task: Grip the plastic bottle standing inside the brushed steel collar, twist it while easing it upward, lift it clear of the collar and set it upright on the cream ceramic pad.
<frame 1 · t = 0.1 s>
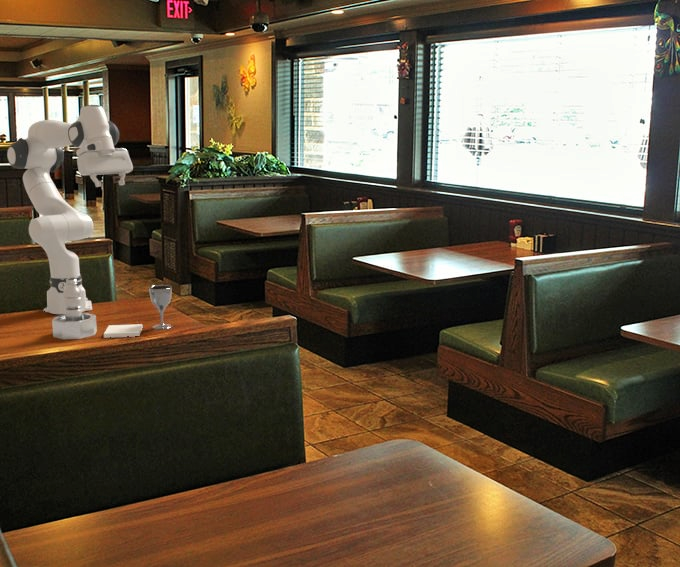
hand: (110, 185, 283), 52 cm above the table, tool tilted 20°, fingers open, 8 cm apart
steel collar: (75, 334, 282), on the table
plastic bottle: (75, 334, 282), resting in steel collar
ceramic pad: (123, 332, 284), on the table
wine glass: (162, 327, 292), on the table
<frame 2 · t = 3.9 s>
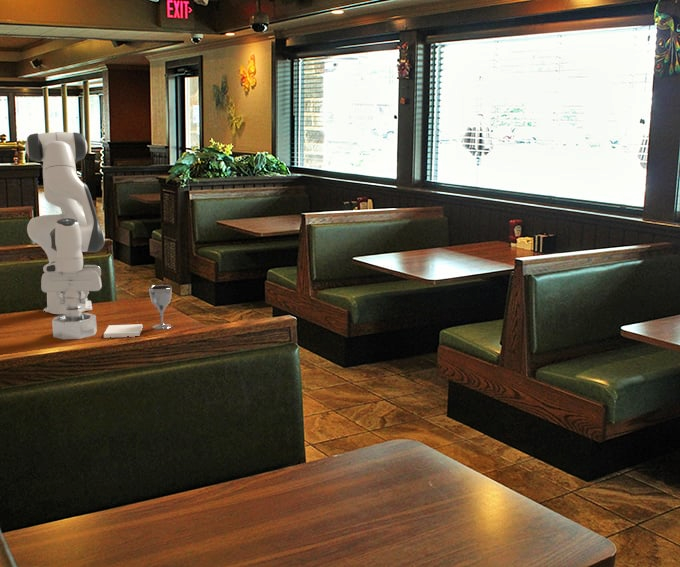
hand: (73, 303, 280), 11 cm above the table, tool pointing down, fingers closed on plastic bottle, 6 cm apart
plastic bottle: (75, 334, 282), resting in steel collar, touching gripper
everything else where it was.
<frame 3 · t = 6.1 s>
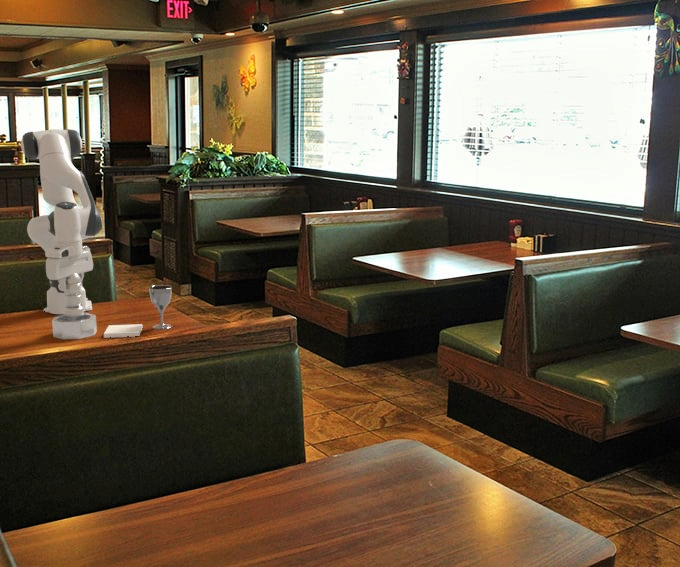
hand: (71, 287, 279), 17 cm above the table, tool pointing down, fingers closed on plastic bottle, 6 cm apart
plastic bottle: (75, 320, 282), point 5 cm above the table, touching gripper
everything else where it was.
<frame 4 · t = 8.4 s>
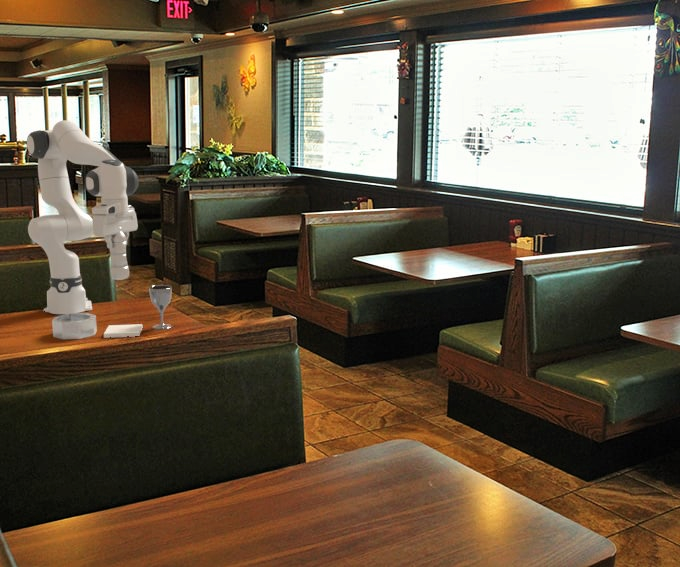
hand: (117, 246, 277), 31 cm above the table, tool pointing down, fingers closed on plastic bottle, 6 cm apart
plastic bottle: (120, 280, 280), point 19 cm above the table, touching gripper
everything else where it was.
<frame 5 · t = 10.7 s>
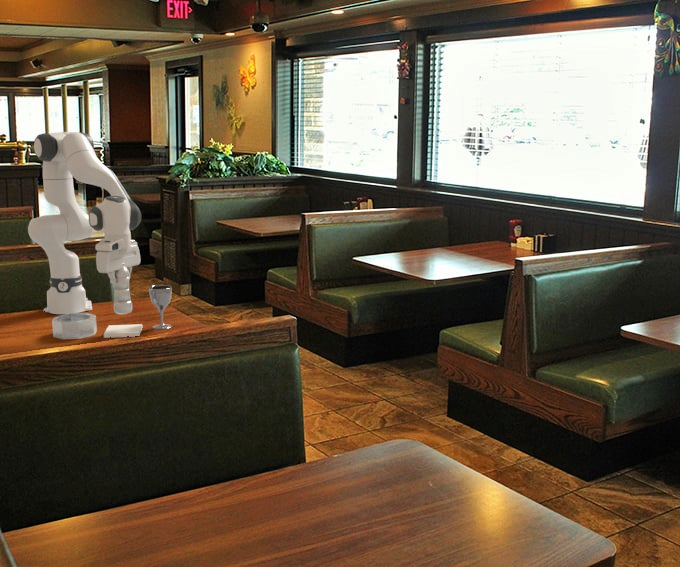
hand: (120, 281, 280), 19 cm above the table, tool pointing down, fingers closed on plastic bottle, 6 cm apart
plastic bottle: (123, 314, 282), point 7 cm above the table, touching gripper
everything else where it was.
when the fingers open (14 cm above the table, at t = 12.7 s): plastic bottle moves 1 cm, resting on ceramic pad.
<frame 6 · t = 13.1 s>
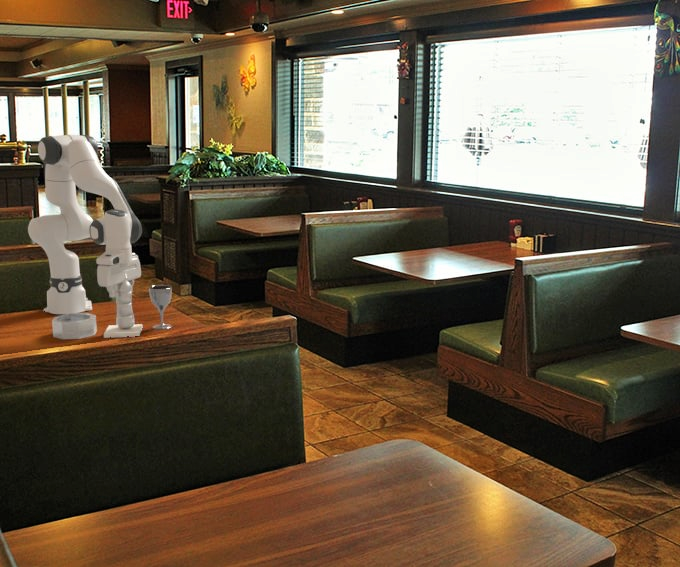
hand: (121, 294, 281), 14 cm above the table, tool pointing down, fingers open, 8 cm apart
plastic bottle: (126, 328, 285), point 1 cm above the table, touching ceramic pad, gripper
everything else where it was.
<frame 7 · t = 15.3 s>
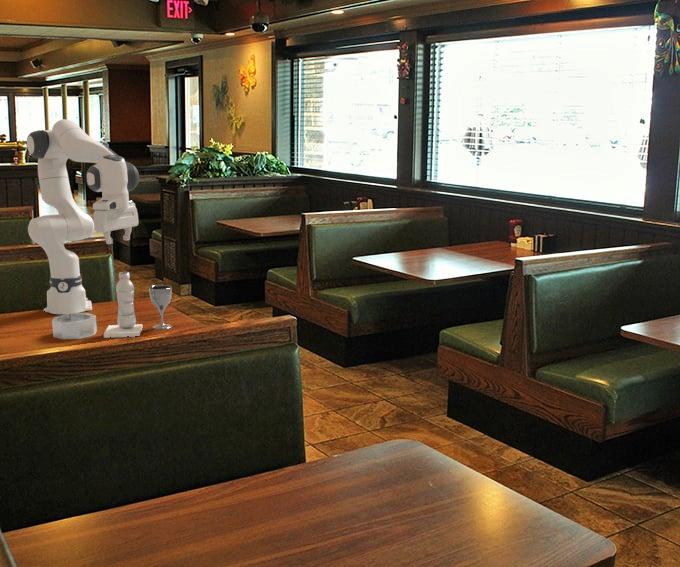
hand: (118, 242, 277), 33 cm above the table, tool pointing down, fingers open, 8 cm apart
plastic bottle: (127, 328, 285), point 1 cm above the table, touching ceramic pad
everything else where it was.
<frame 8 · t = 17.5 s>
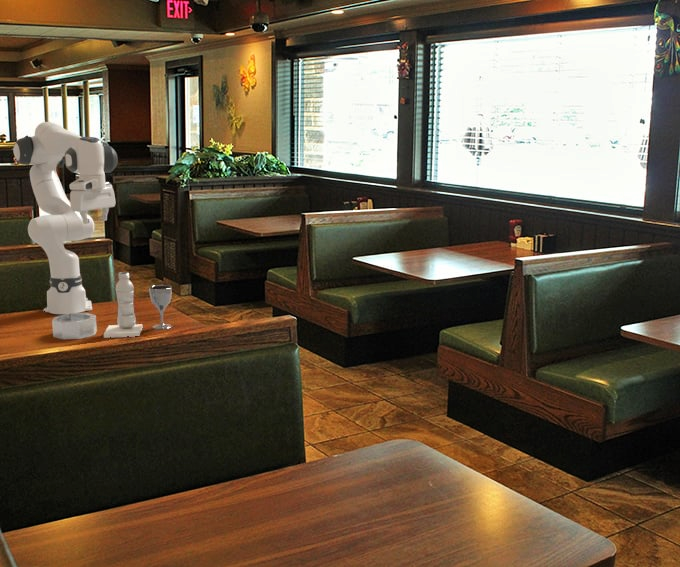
hand: (95, 222, 284), 39 cm above the table, tool pointing down, fingers open, 8 cm apart
nothing on the table moved.
at the end: plastic bottle inside the target area on the ceramic pad (2.1 cm from its centre), point 1.3 cm above the ceramic pad's base; plastic bottle tilted 0°; the gripper is holding nothing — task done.
